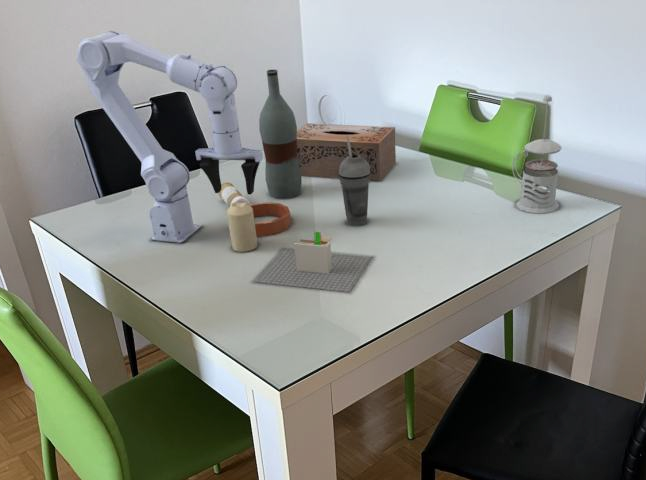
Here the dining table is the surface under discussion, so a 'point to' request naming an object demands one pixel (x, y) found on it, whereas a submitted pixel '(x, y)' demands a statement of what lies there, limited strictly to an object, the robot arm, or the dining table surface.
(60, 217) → the dining table surface
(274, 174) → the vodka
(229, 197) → the sprinkles bottle
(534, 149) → the french press
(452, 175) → the dining table surface
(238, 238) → the candle
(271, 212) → the orange faceted bracelet
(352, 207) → the beverage cup
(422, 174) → the dining table surface
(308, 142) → the tissue box cover
